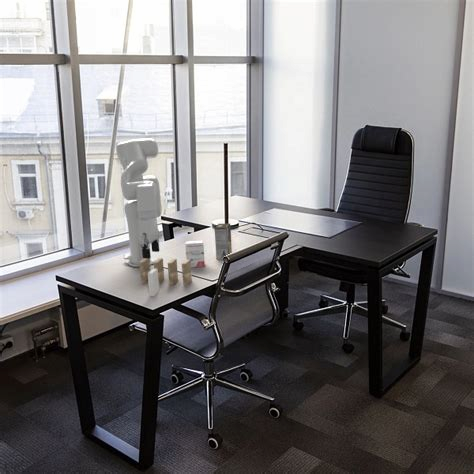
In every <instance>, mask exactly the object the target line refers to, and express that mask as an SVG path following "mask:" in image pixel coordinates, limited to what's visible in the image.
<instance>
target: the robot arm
mask: <svg viewBox="0 0 474 474" xmlns="http://www.w3.org/2000/svg"><path fill="white" fill-rule="evenodd" d="M115 151H116V154H117V155H116V156H117V158H118V161H119V162H120V164H121V166H122V170H123V172H122V173H121V176H120V186H121V187H120V188H121V192H122V196H123V198H124V199H125V200H126V201H127V202H125V204H124V209H123V210H124V215H125V218H126V222H127V229H128V230H127V232H128V238H129V251H130V254H124V255H123V259H124V260H128V262H127V263H128V266H129V267H133V268H140V261H142V260H143V259H144V258H147V259H149V262H150V266H151V265H154V262H155V259H154V258H152V256H151V251H152V252H153V253H155V252H156V253H159V252H160V244H159V243H160V240H159V238H160V235H159V234H160V233H159V232H160V231H159V225H158V218H160V217H161V216H162V200H161V189H160V183H159V180H158V178H157V176H154V175H144V176H143V174H144V173H145V172H146V171H148V168H149V163H148V160H147V159H154V158H156V157H158V156H159V155H158V154H159V146H158V143H157V141H156V140H155V139H154V138H152V137H151V138H136V139H131V140H130V139H129V140H127V141H123V142H119V143H117V144H116V147H115Z"/></svg>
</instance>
